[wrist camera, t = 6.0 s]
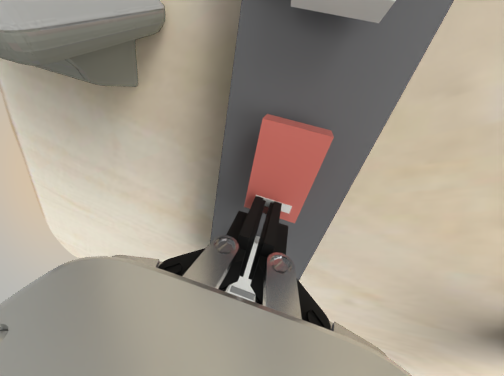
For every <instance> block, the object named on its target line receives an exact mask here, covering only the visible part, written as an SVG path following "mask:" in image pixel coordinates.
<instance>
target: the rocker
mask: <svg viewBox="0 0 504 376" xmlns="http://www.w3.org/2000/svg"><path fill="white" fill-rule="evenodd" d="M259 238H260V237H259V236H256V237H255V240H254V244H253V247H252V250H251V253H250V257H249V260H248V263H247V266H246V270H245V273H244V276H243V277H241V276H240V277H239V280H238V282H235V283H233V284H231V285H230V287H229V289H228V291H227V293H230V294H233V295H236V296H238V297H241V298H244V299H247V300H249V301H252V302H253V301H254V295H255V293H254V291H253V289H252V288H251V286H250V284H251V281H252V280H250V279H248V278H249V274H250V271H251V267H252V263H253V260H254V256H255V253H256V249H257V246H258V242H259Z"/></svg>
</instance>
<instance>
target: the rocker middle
mask: <svg viewBox="0 0 504 376" xmlns="http://www.w3.org/2000/svg"><path fill="white" fill-rule="evenodd" d="M333 138H334V136H333V133H332V131H331V130H327V129H323V128H320V127H316V126H312V125H308V124H304V123H301V122H297V121H293V120H289V119H285V118H281V117H278V116H274V115H270V114H266V115H265V116H264V117H263V119H262V124H261V128H260V133H259V138H258V143H257V147H256V152H255V157H254V161H253V166H252V171H251V176H250V180H249V185H248V190H247V195H246V199H245V204H244V207H246V208H249V209H250V208H251V205H252V203H253V201H254V199H255V196H259V197H262V198H263V200H265V201H266V203H265V206H264V210H263V213H264V214H267V212H268V208H269V205H270V202H271V203H274V201H275V202H279V203H282V206H281V213H280V219H283V220H286V221H289V222H292V223H295V222H296V220H297V218H298V215H299V213H300V211H301V209H302V207H303V204H304V202H305V200H306V198H307V195H308V193H309V191H310V189H311V187H312V184H313V182H314V180H315V178H316V176H317V173H318V171H319V169H320V167H321V165H322V162H323V160H324V158H325V156H326V153H327V151H328V149H329V147H330V145H331V142H332V140H333Z"/></svg>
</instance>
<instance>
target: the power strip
mask: <svg viewBox="0 0 504 376" xmlns="http://www.w3.org/2000/svg"><path fill="white" fill-rule="evenodd" d="M453 1H454V0H396V1H395V3H394V4H393V5H392V7H391V8H390V9H389V11H388V12H387V13H386V14H385V16H384V17H383V18H382V20H381V21H380V22H379V23H375V22H369V21H364V20H359V19H354V18H348V17H343V16H338V15H333V14H327V13H322V12H317V11H312V10H306V9H301V8H296V7H291V0H242V3H241V11H240V18H239V26H238V34H237V41H236V49H235V57H234V64H233V72H232V79H231V87H230V95H229V102H228V110H227V118H226V125H225V133H224V140H223V148H222V156H221V163H220V171H219V179H218V186H217V194H216V201H215V209H214V217H213V224H212V232H211V240H210V243H211V242H212V240H213V239H214V238H216V237H218V236H221V235H226V234H227V232H228V230H229V228H230V227H231V225H232V223H233V221H234V219H235V217H236V215H237V213H238V211H242V212H246V213H248V212H249V210H250V209H249V208H246V207H244V204H245V199H246V195H247V190H248V185H249V180H250V176H251V171H252V166H253V161H254V157H255V152H256V147H257V143H258V138H259V133H260V128H261V124H262V119H263V117H264V116H265V115H266V114H270V115H274V116H278V117H281V118H285V119H289V120H293V121H297V122H301V123H304V124H308V125H312V126H316V127H320V128H323V129H327V130H331V131H332V133H333V136H334V138H333V140H332V142H331V145H330V147H329V149H328V151H327V153H326V156H325V158H324V160H323V162H322V165H321V167H320V169H319V171H318V173H317V176H316V178H315V180H314V182H313V184H312V187H311V189H310V191H309V193H308V195H307V198H306V200H305V202H304V204H303V207H302V209H301V211H300V213H299V215H298V218H297V220H296V222H295V223H292V222H289V221H286V220H283V219H279V223H281V224H284V225H287V226H288V237H287V248H286V255H287V256H288V257H289V258H290V259H291V260H292V261H293V263H294V266H295V272H296V278H297V280H298V281H299V279H300V277H301V276H302V274H303V272H304V270H305V268H306V267H307V265H308V263H309V261H310V259H311V258H312V256H313V254H314V252H315V250H316V249H317V247H318V245H319V243H320V241H321V239H322V238H323V236H324V234H325V232H326V230H327V229H328V227H329V225H330V223H331V221H332V220H333V218H334V216H335V214H336V212H337V211H338V209H339V207H340V205H341V203H342V202H343V200H344V198H345V196H346V194H347V193H348V191H349V189H350V187H351V185H352V183H353V182H354V180H355V178H356V176H357V174H358V173H359V171H360V169H361V167H362V165H363V164H364V162H365V160H366V158H367V156H368V155H369V153H370V151H371V149H372V147H373V146H374V144H375V142H376V140H377V138H378V137H379V135H380V133H381V131H382V129H383V127H384V126H385V124H386V122H387V120H388V118H389V117H390V115H391V113H392V111H393V109H394V108H395V106H396V104H397V102H398V100H399V99H400V97H401V95H402V93H403V91H404V90H405V88H406V86H407V84H408V82H409V81H410V79H411V77H412V75H413V73H414V72H415V70H416V68H417V66H418V64H419V62H420V61H421V59H422V57H423V55H424V53H425V52H426V50H427V48H428V46H429V44H430V43H431V41H432V39H433V37H434V35H435V34H436V32H437V30H438V28H439V26H440V25H441V23H442V21H443V19H444V17H445V16H446V14H447V12H448V10H449V8H450V6H451V5H452V3H453ZM266 215H267V214H264V213H262V217H261V220H260V224H259V227H258V231H257V234H256V236H259V237H260V235H261V232H262V228H263V225H264V222H265V218H266Z"/></svg>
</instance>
